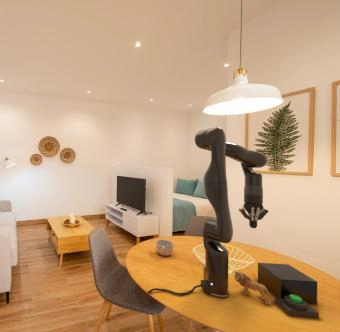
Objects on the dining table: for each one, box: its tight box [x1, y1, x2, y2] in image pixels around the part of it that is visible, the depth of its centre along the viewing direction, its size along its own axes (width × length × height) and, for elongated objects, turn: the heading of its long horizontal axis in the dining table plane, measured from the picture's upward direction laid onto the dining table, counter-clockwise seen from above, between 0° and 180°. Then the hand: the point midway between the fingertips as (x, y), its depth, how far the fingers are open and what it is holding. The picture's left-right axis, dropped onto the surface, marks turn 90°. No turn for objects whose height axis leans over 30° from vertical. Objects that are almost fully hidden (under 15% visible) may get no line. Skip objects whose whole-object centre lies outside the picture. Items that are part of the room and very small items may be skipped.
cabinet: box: [257, 262, 318, 305], centre depth 98 cm, size 16×14×10 cm
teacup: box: [155, 238, 175, 257], centre depth 138 cm, size 14×11×8 cm
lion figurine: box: [234, 270, 276, 305], centre depth 95 cm, size 15×5×9 cm, turn 39°
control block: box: [274, 295, 320, 319], centre depth 86 cm, size 10×8×4 cm
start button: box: [290, 294, 302, 304], centre depth 86 cm, size 4×4×2 cm
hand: (253, 227), depth 107 cm, fingers closed
